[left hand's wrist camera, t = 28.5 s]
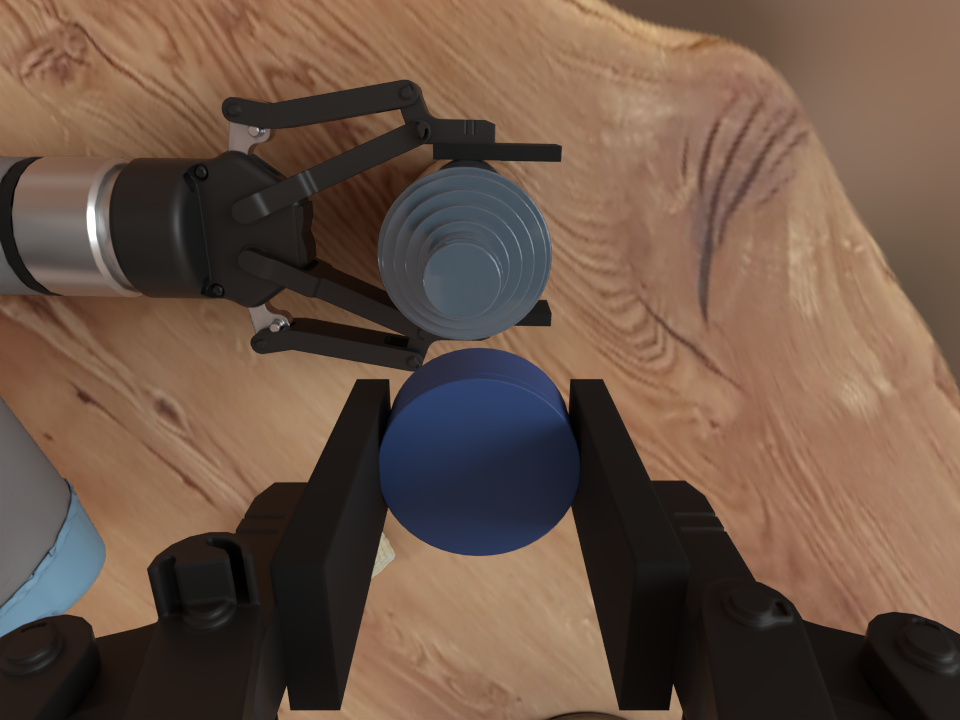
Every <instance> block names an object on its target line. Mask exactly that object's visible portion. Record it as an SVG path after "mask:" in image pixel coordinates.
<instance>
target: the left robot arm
mask: <svg viewBox="0 0 960 720" xmlns="http://www.w3.org/2000/svg"><path fill="white" fill-rule="evenodd" d="M390 412H391V404H390V387H389V379H357V380H356V382H355V384H354V387H353V389H352V391H351V393H350V395H349V397H348V399H347V401H346V403H345V405H344V408H343V410H342V412H341V414H340V416H339V418H338V420H337V422H336V424H335V427H334V429H333V431H332V433H331V435H330V437H329V439H328V441H327V443H326V445H325V448H324V450H323V452H322V454H321V456H320V458H319V460H318V462H317V464H316V467H315V469H314V471H313V473H312V475H311V477H310V479H309V481H308V482H275V483H274V484H272V485H271V486H270V487H268V488H267V489H266V490H264V491H263V492H262V493H261V494H259V495H258V496H257V497H255V499H254V500H253V502H252V504H251V505H250V507H249V509H248V510H247V512H246V514H245V518H244V519H242V521H241V522H240V524H239V526H238V527H237V529H236V534H232V533H229V532H209V533H204V534H200V535H195V536H191V537H188V538H186V539H184V540H181V541H179V542H177V543H175V544H173V545H171V546H169V547H168V548H167V549H165V550H164V551H163V552H161V553H160V554H159V555H157V556H156V557H155V559H154V560H153V561H152V563H151V564H150V566H149V567H148V568H147V571H148V575H149V580H150V584H151V588H152V592H153V596H154V601H155V605H156V609H157V613H158V621H157V622H156V623H153V624H150V625H147V626H144V627H140V628H137V629H133V630H128V631H124V632H120V633H116V634H111V635H107V636H103V637H99V638H95V636H94V633H93V629H92V626H91V625H90V624H89V623H88V622H87V621H86V620H85V619H84V618H82V617H78V616H72V615H67V614H66V615H58V616H49V617H44V618H41V619H38V620H35V621H32V622H29V623H26V624H23V625H22V626H20V627H18V628H16V629H14V630H12V631H11V632H9V633H7V634H5V635H3V636H1V637H0V720H278V714H277V712H278V709H279V706H280V703H281V700H282V698H283V695H284V692H285V689H286V686H287V690H288V697H289V703H290V710H340V709H341V704H342V700H343V696H344V692H345V688H346V683H347V679H348V675H349V671H350V666H351V662H352V658H353V654H354V649H355V645H356V641H357V637H358V633H359V628H360V624H361V620H362V616H363V611H364V607H365V603H366V599H367V595H368V590H369V586H370V582H371V578H372V573H373V569H374V565H375V561H376V556H377V552H378V548H379V544H380V540H381V535H382V531H383V527H384V523H385V518H386V514H387V510H388V506H387V504H386V502H385V500H384V498H383V495H382V493H381V482H380V467H379V447H380V444H381V441H382V438H383V434H384V431H385V428H386V425H387V421H388V418H389V415H390ZM569 418H570V421H571V425H572V428H573V431H574V434H575V438H576V441H577V444H578V448H579V452H580V476H579V486H578V489H577V493H576V496H575V498H574V500H573V502H572V504H571V507H572V512H573V516H574V520H575V524H576V529H577V533H578V537H579V541H580V545H581V550H582V554H583V558H584V562H585V567H586V571H587V575H588V579H589V583H590V588H591V592H592V596H593V600H594V605H595V609H596V613H597V617H598V622H599V626H600V630H601V634H602V638H603V643H604V647H605V651H606V655H607V660H608V664H609V668H610V672H611V677H612V681H613V685H614V689H615V693H616V698H617V702H618V706H619V710H669V707H670V701H671V694H672V687H673V684H674V687H675V690H676V693H677V696H678V699H679V702H680V704H681V707H682V710H683V714H682V720H960V634H958V633H957V632H955V631H953V630H951V629H949V628H947V627H945V626H944V625H942V624H940V623H938V622H936V621H933V620H930V619H927V618H924V617H921V616H918V615H915V614H908V613H899V612H890V613H885V614H880V615H877V616H876V617H875V618H874V619H873V620H872V621H870V622H869V624H868V627H867V631H866V634H865V636H863V635H859V634H855V633H851V632H846V631H842V630H838V629H833V628H829V627H825V626H821V625H818V624H814V623H811V622H808V621H805V620H803V619H802V617H801V616H800V614H799V612H798V611H797V609H796V608H795V606H794V604H793V603H792V602H790V601H789V600H788V599H787V598H786V597H784V596H783V595H782V594H781V593H780V592H778V591H776V590H774V589H772V588H770V587H768V586H766V585H764V584H762V583H760V582H756V580H755V579H754V577H753V575H752V574H751V572H750V570H749V569H748V567H747V565H746V564H745V562H744V560H743V559H742V557H741V555H740V554H739V552H738V550H737V549H736V547H735V545H734V544H733V542H732V540H731V539H730V537H729V535H728V534H727V532H724V527H723V525H722V524H721V522H720V520H719V519H718V517H715V512H714V510H713V509H712V507H711V505H710V504H709V502H708V500H707V499H706V497H705V496H704V495H703V494H702V493H700V492H699V491H698V490H697V489H695V488H694V487H693V486H691V485H690V484H689V483H687V482H686V481H651V480H650V478H649V476H648V474H647V472H646V470H645V467H644V465H643V463H642V461H641V459H640V457H639V455H638V453H637V451H636V448H635V446H634V444H633V442H632V440H631V438H630V436H629V434H628V432H627V429H626V427H625V425H624V423H623V421H622V419H621V417H620V415H619V413H618V411H617V408H616V406H615V404H614V402H613V400H612V398H611V396H610V394H609V392H608V389H607V387H606V385H605V383H604V381H603V379H571V380H570V397H569ZM552 720H625V719H622V718H619V717H616V716H611V715H605V714H596V713H583V714H573V715H567V716H562V717H558V718H555V719H552Z"/></svg>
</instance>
